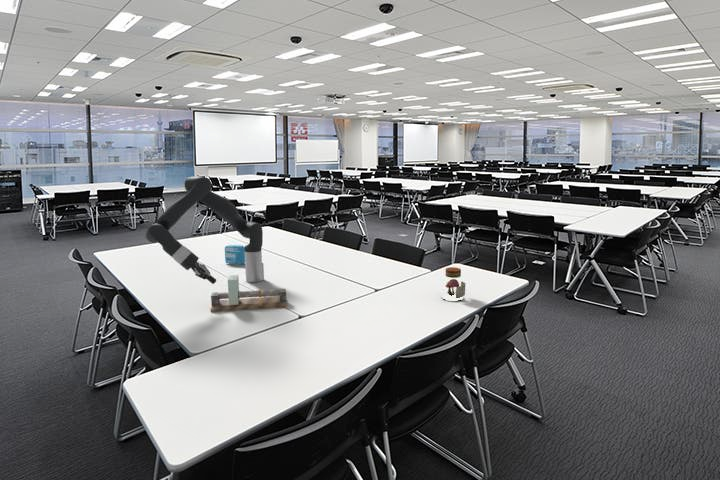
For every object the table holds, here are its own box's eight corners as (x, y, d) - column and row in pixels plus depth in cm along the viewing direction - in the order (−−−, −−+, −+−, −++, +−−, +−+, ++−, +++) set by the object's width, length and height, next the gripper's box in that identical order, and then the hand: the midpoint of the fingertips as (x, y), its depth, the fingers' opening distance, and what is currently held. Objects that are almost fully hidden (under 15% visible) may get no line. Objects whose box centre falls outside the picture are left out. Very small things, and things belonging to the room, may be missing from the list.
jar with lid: (439, 302, 215) (440, 271, 212) (441, 294, 227) (442, 265, 224) (464, 303, 212) (465, 273, 209) (464, 295, 224) (466, 266, 221)
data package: (225, 264, 289) (224, 245, 287) (229, 262, 294) (228, 244, 291) (242, 265, 286) (241, 246, 284) (245, 263, 291) (244, 245, 288)
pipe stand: (210, 311, 202) (209, 296, 200) (214, 303, 213) (213, 288, 212) (286, 307, 208) (286, 292, 206) (286, 299, 219) (285, 284, 218)
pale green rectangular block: (229, 305, 205) (227, 280, 202) (231, 299, 212) (229, 275, 210) (238, 304, 205) (236, 279, 203) (239, 299, 213) (238, 275, 211)
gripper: (188, 254, 195) (218, 280, 199) (193, 248, 207) (222, 272, 212) (176, 267, 195) (207, 292, 199) (182, 260, 207) (211, 284, 212)
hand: (215, 282), depth 205 cm, fingers closed
